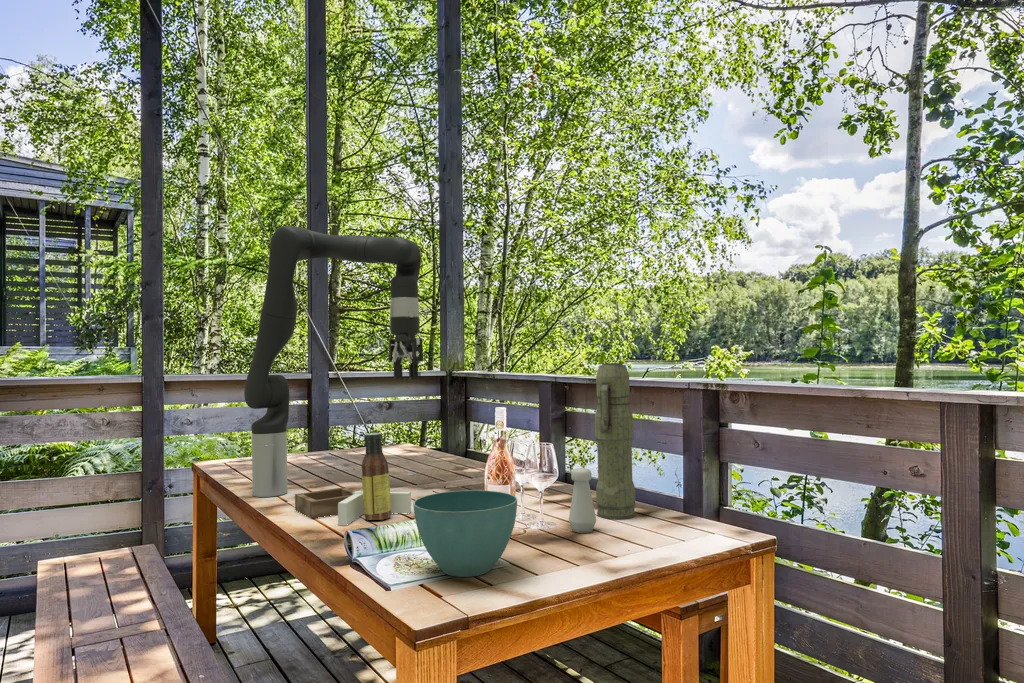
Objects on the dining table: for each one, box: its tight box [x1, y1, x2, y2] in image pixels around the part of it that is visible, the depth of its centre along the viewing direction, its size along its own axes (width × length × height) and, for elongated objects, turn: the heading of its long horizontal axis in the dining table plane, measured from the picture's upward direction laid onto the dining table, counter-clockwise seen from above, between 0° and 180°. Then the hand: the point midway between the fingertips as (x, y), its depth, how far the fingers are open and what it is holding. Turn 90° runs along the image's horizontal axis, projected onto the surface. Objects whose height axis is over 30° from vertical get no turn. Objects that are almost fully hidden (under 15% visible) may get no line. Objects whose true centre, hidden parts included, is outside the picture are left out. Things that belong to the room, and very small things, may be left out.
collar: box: [294, 486, 356, 519], centre depth 168 cm, size 12×13×4 cm
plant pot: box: [412, 489, 518, 578], centre depth 119 cm, size 18×18×12 cm
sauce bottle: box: [361, 432, 392, 521], centre depth 158 cm, size 7×6×20 cm
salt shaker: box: [568, 467, 597, 534], centre depth 144 cm, size 6×6×13 cm
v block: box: [337, 489, 412, 526], centre depth 161 cm, size 11×18×5 cm, turn 127°
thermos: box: [594, 362, 636, 520], centre depth 157 cm, size 9×12×35 cm
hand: (405, 378), depth 176 cm, fingers open, 8 cm apart
